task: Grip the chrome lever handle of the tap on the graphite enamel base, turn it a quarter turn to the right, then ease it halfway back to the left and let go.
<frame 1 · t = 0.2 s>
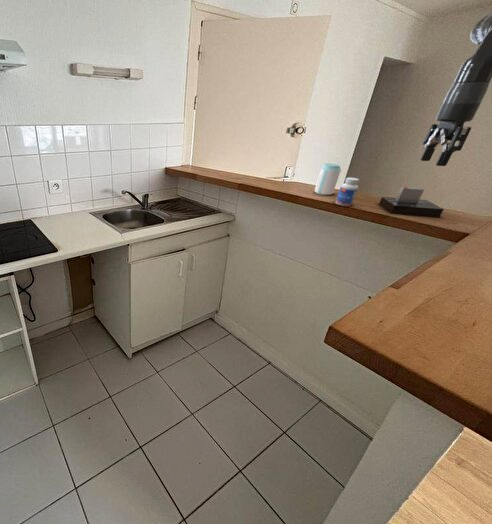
hand: (432, 163, 85), 18 cm above the worktop, tool pointing down, fingers open, 8 cm apart
pill bottle: (342, 204, 109), on the worktop
can: (323, 193, 122), on the worktop
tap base: (407, 210, 102), on the worktop
tap handle: (409, 194, 100), point 6 cm above the worktop, hinge at 0.0°
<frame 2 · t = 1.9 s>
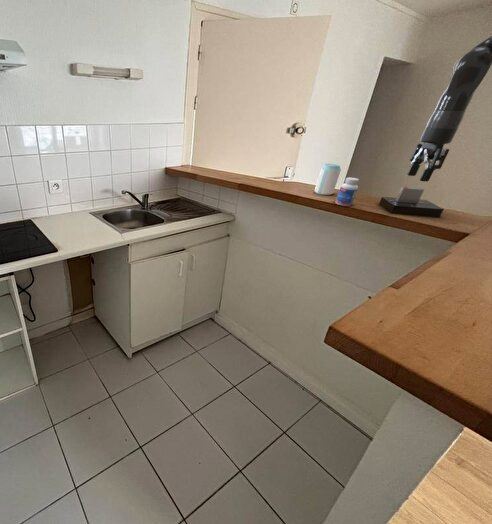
hand: (417, 178, 97), 12 cm above the worktop, tool pointing down, fingers open, 8 cm apart
nothing on the worktop moved.
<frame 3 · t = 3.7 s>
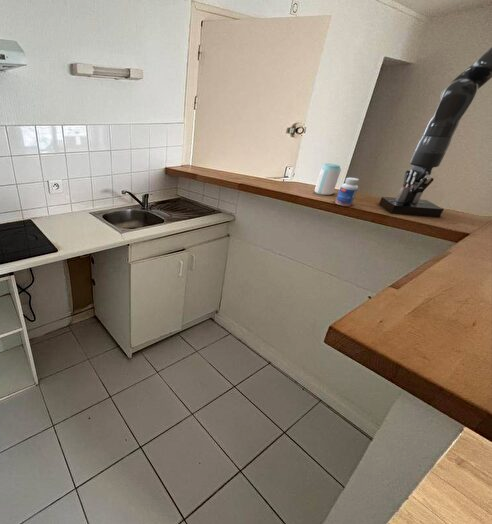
hand: (406, 201, 101), 3 cm above the worktop, tool pointing down, fingers closed on tap handle, 2 cm apart
tap handle: (409, 194, 100), point 6 cm above the worktop, hinge at 0.0°, touching gripper
everything else where it was.
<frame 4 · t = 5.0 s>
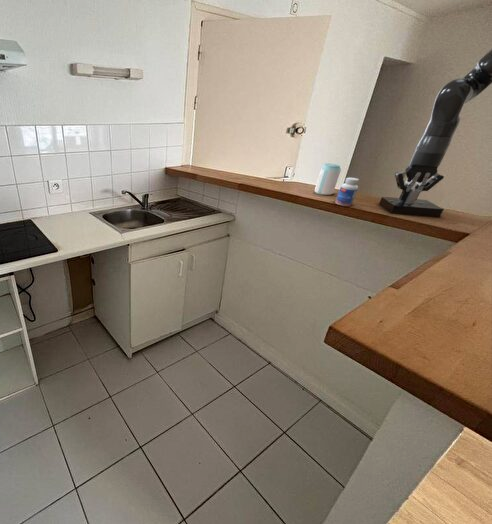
hand: (406, 201, 101), 3 cm above the worktop, tool pointing down, fingers closed on tap handle, 2 cm apart
tap handle: (409, 194, 100), point 6 cm above the worktop, hinge at -89.4°, touching gripper
everything else where it was.
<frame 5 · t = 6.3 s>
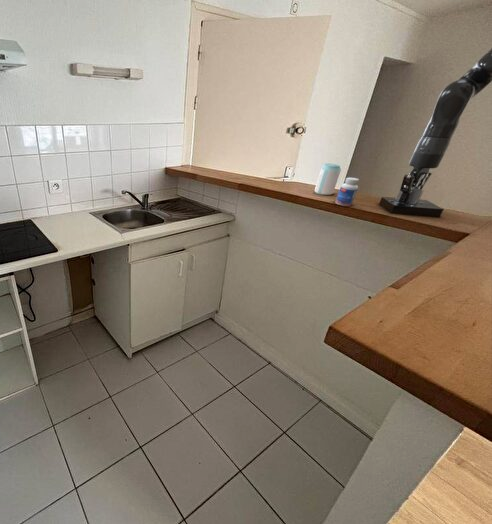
hand: (404, 202, 101), 3 cm above the worktop, tool pointing down, fingers open, 3 cm apart
tap handle: (409, 194, 100), point 6 cm above the worktop, hinge at -44.9°, touching gripper
everything else where it was.
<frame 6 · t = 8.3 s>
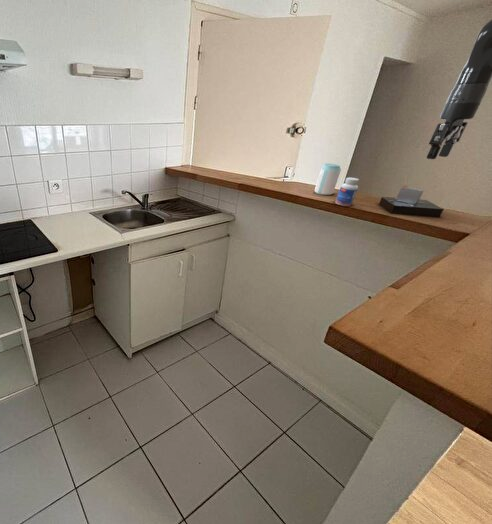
hand: (436, 157, 93), 18 cm above the worktop, tool pointing down, fingers open, 8 cm apart
tap handle: (409, 194, 100), point 6 cm above the worktop, hinge at -44.9°
everything else where it was.
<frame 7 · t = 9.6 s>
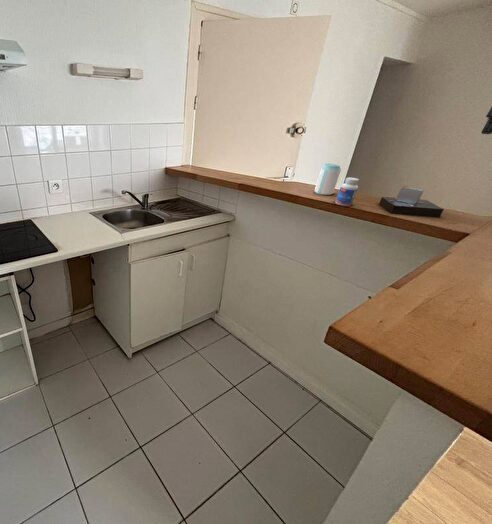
hand: (491, 133, 86), 26 cm above the worktop, tool pointing down, fingers open, 8 cm apart
nothing on the worktop moved.
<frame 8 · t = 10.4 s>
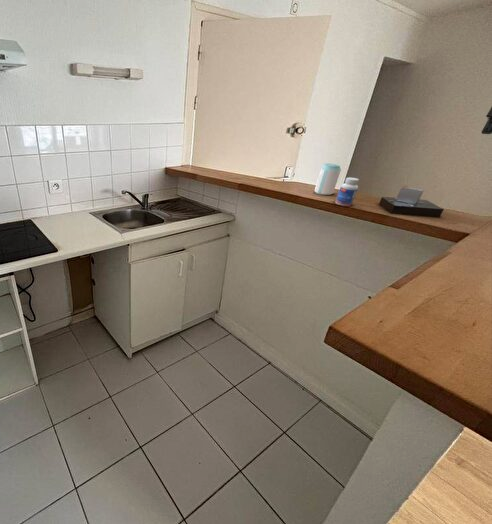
hand: (491, 133, 86), 26 cm above the worktop, tool pointing down, fingers open, 8 cm apart
nothing on the worktop moved.
at the end: tap handle reached -90° during the clip, -45° at the end; tap handle at -45° (first picture: +0°) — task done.
